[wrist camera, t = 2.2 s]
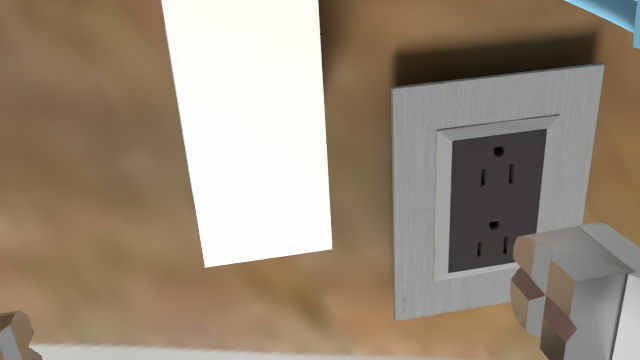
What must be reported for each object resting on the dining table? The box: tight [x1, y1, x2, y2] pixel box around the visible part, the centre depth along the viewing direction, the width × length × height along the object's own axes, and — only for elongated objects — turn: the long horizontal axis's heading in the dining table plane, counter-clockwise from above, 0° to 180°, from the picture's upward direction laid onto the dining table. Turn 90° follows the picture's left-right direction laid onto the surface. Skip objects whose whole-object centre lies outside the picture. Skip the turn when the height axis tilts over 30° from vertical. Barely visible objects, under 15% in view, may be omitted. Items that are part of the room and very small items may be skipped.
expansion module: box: [161, 0, 332, 267], centre depth 22 cm, size 5×10×9 cm, turn 4°
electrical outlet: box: [391, 63, 605, 321], centre depth 31 cm, size 13×10×2 cm
